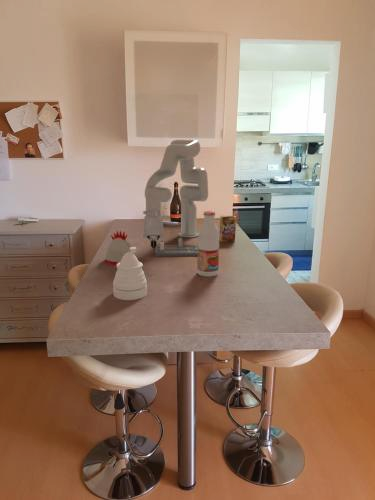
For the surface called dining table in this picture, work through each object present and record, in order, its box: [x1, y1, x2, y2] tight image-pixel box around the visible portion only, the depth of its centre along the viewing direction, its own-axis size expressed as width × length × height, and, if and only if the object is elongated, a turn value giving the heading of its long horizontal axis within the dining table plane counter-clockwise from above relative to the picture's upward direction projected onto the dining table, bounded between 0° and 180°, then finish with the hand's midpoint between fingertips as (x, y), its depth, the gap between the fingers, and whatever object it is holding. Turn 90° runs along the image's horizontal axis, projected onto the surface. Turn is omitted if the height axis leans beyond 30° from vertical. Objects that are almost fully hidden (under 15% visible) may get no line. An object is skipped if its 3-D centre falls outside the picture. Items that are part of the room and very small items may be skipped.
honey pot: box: [112, 246, 148, 301], centre depth 147 cm, size 13×13×18 cm
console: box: [154, 243, 198, 257], centre depth 207 cm, size 16×24×2 cm, turn 94°
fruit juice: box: [196, 210, 220, 278], centre depth 170 cm, size 9×9×28 cm
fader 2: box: [177, 236, 183, 247], centre depth 211 cm, size 3×2×5 cm
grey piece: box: [104, 230, 132, 266], centre depth 189 cm, size 14×14×15 cm
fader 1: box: [159, 239, 165, 250], centre depth 203 cm, size 3×2×5 cm
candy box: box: [218, 215, 237, 243], centre depth 229 cm, size 9×4×15 cm, turn 98°
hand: (153, 247), depth 204 cm, fingers closed
